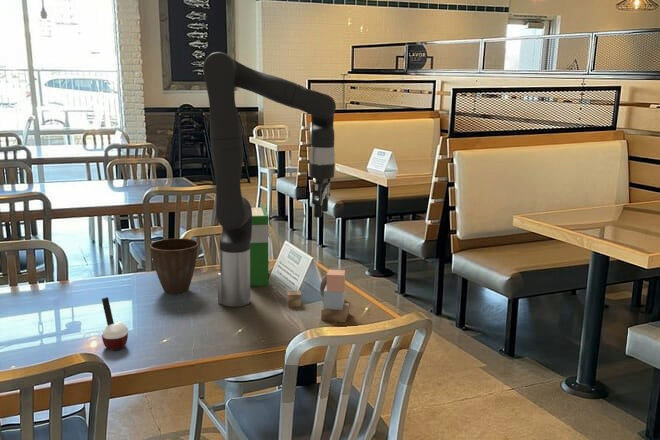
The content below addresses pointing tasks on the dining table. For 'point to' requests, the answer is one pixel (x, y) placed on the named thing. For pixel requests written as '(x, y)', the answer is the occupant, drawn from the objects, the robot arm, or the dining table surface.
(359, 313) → the dining table surface
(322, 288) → the vase
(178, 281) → the plant pot
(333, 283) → the terracotta cube
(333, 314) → the walnut slab
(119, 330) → the fishing bobber
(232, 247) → the robot arm
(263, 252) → the hardback book
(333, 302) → the slate cube
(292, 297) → the maple block
